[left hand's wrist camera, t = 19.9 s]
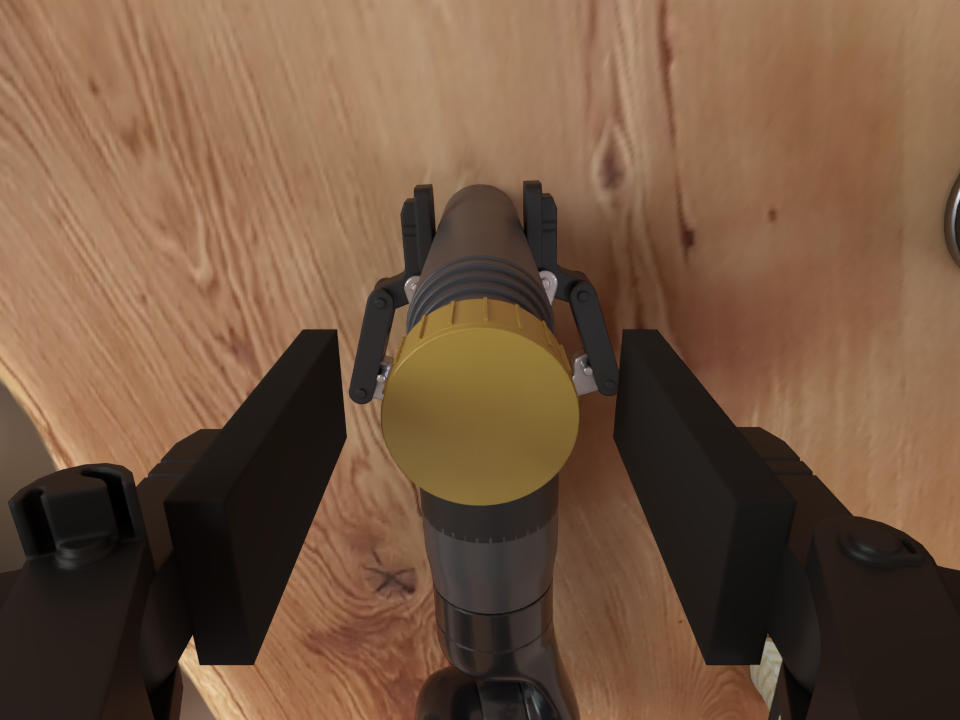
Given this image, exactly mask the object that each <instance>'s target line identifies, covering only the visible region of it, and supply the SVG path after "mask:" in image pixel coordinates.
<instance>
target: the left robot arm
mask: <svg viewBox="0 0 960 720" xmlns="http://www.w3.org/2000/svg"><path fill="white" fill-rule="evenodd" d="M346 438H347V434H346V423H345V412H344V401H343V390H342V379H341V368H340V357H339V346H338V335H337V329H303V330H302V331H301V333H300V334H299V335H298V336H297V338H296V339H295V340H294V341H293V342H292V344H291V345H290V346H289V347H288V349H287V350H286V351H285V352H284V353H283V355H282V356H281V357H280V358H279V360H278V361H277V362H276V363H275V365H274V366H273V367H272V368H271V369H270V371H269V372H268V373H267V374H266V376H265V377H264V378H263V379H262V380H261V382H260V383H259V384H258V385H257V387H256V388H255V389H254V390H253V392H252V393H251V394H250V395H249V396H248V398H247V399H246V400H245V401H244V403H243V404H242V405H241V406H240V407H239V409H238V410H237V411H236V412H235V414H234V415H233V416H232V417H231V419H230V420H229V421H228V422H227V423H226V425H225V426H224V427H223V428H222V429H200V430H198V431H197V432H195V433H193V434H191V435H190V436H188V437H186V438H185V439H183V440H181V441H179V442H178V443H176V444H175V445H174V446H173V447H172V448H171V449H170V451H169V452H168V453H167V454H166V455H165V456H164V457H163V458H162V459H161V463H158V464H157V465H156V466H155V467H154V468H153V469H152V470H151V471H150V472H149V473H148V478H144V479H143V480H142V481H141V482H140V483H139V484H138V485H137V487H136V486H135V482H134V478H133V474H132V472H131V471H129V470H128V469H127V468H125V467H124V466H121V465H115V464H109V463H100V464H85V465H81V466H76V467H72V468H67V469H63V470H60V471H57V472H55V473H52V474H50V475H47V476H45V477H42V478H39V479H37V480H36V481H34V482H32V483H31V484H29V485H27V486H26V487H24V488H22V489H20V490H19V491H18V492H17V493H16V494H15V495H14V496H13V497H12V498H11V499H10V500H9V501H8V505H9V508H10V511H11V514H12V516H13V520H14V522H15V525H16V528H17V531H18V534H19V537H20V540H21V543H22V546H23V549H24V552H25V555H26V558H27V560H26V562H25V564H24V566H23V568H22V569H19V570H15V571H10V572H5V573H0V720H179V717H180V710H181V702H182V694H183V682H182V675H181V671H180V667H179V663H178V661H179V659H180V657H181V655H182V653H183V652H184V650H185V648H186V646H187V644H188V642H189V641H190V639H191V637H192V635H193V638H194V642H195V646H196V651H197V655H198V660H199V664H200V665H254V663H255V660H256V658H257V656H258V653H259V651H260V648H261V646H262V643H263V641H264V638H265V636H266V634H267V631H268V629H269V626H270V624H271V621H272V619H273V616H274V614H275V612H276V609H277V607H278V604H279V602H280V599H281V597H282V594H283V592H284V590H285V587H286V585H287V582H288V580H289V577H290V575H291V572H292V570H293V568H294V565H295V563H296V560H297V558H298V555H299V553H300V551H301V548H302V546H303V543H304V541H305V538H306V536H307V533H308V531H309V529H310V526H311V524H312V521H313V519H314V516H315V514H316V511H317V509H318V507H319V504H320V502H321V499H322V497H323V494H324V492H325V489H326V487H327V485H328V482H329V480H330V477H331V475H332V472H333V470H334V467H335V465H336V463H337V460H338V458H339V455H340V453H341V450H342V448H343V446H344V443H345V441H346ZM613 438H614V441H615V443H616V446H617V448H618V450H619V453H620V455H621V458H622V460H623V463H624V465H625V467H626V470H627V472H628V475H629V477H630V480H631V482H632V485H633V487H634V489H635V492H636V494H637V497H638V499H639V502H640V504H641V507H642V509H643V511H644V514H645V516H646V519H647V521H648V524H649V526H650V529H651V531H652V533H653V536H654V538H655V541H656V543H657V546H658V548H659V551H660V553H661V555H662V558H663V560H664V563H665V565H666V568H667V570H668V572H669V575H670V577H671V580H672V582H673V585H674V587H675V590H676V592H677V594H678V597H679V599H680V602H681V604H682V607H683V609H684V612H685V614H686V616H687V619H688V621H689V624H690V626H691V629H692V631H693V634H694V636H695V638H696V641H697V643H698V646H699V648H700V651H701V653H702V656H703V658H704V660H705V663H706V665H760V664H761V660H762V655H763V651H764V646H765V642H766V638H767V633H768V634H769V636H770V637H771V639H772V641H773V643H774V645H775V646H776V648H777V650H778V652H779V654H780V655H781V657H782V663H781V667H780V671H779V675H778V679H777V683H776V687H775V691H774V696H773V700H772V704H771V708H770V712H769V718H768V720H778V719H779V716H781V720H960V571H959V570H954V569H949V568H944V567H941V566H937V564H936V563H935V561H934V559H933V557H932V556H931V555H930V554H929V552H928V551H927V550H926V549H925V548H924V546H923V545H922V544H920V543H919V542H917V541H916V540H915V539H913V538H912V537H910V536H909V535H907V534H906V533H904V532H902V531H900V530H898V529H896V528H893V527H891V526H889V525H887V524H885V523H882V522H878V521H874V520H871V519H867V518H863V517H856V516H853V515H852V514H851V513H850V512H849V511H848V510H847V508H846V507H845V506H844V505H843V504H842V503H841V502H840V501H839V500H838V499H837V498H836V497H835V496H834V494H833V493H832V492H831V491H830V490H829V489H828V488H827V487H826V486H825V485H824V484H823V483H822V481H821V480H820V479H819V478H818V477H817V476H816V475H813V474H812V473H813V472H812V471H811V470H810V468H809V467H808V466H807V465H806V464H805V463H804V462H803V461H800V458H799V457H798V456H797V454H796V453H795V452H794V451H793V450H792V449H791V448H790V447H789V446H788V445H787V444H786V443H785V441H783V440H781V439H779V438H778V437H776V436H774V435H773V434H771V433H769V432H767V431H766V430H764V429H762V428H760V427H736V426H735V425H734V423H733V422H732V421H731V420H730V419H729V417H728V416H727V415H726V414H725V412H724V411H723V410H722V409H721V407H720V406H719V405H718V404H717V403H716V401H715V400H714V399H713V398H712V396H711V395H710V394H709V393H708V392H707V390H706V389H705V388H704V387H703V385H702V384H701V383H700V382H699V380H698V379H697V378H696V377H695V376H694V374H693V373H692V372H691V371H690V369H689V368H688V367H687V366H686V365H685V363H684V362H683V361H682V360H681V358H680V357H679V356H678V355H677V353H676V352H675V351H674V350H673V349H672V347H671V346H670V345H669V344H668V342H667V341H666V340H665V339H664V338H663V336H662V335H661V334H660V333H659V331H658V330H657V329H623V335H622V346H621V357H620V368H619V379H618V390H617V401H616V412H615V423H614V434H613Z"/></svg>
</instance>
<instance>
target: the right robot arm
mask: <svg viewBox="0 0 960 720" xmlns="http://www.w3.org/2000/svg"><path fill="white" fill-rule="evenodd" d="M523 219H524V234H525V236H526V239H527V242H528V245H529V247H530V250H531V253H532V255H533V258H534V261H535V264H536V266H537V269H538V272H539V274H540V277H541V280H542V283H543V285H544V288H545V291H546V293H547V296H548V299H549V302H550V304H551V305H552V302H553V298H557V299H560V300H563V301H566V302H569V304H570V307H571V310H572V314H573V317H574V320H575V323H576V327H577V330H578V333H579V336H580V340H581V343H582V346H583V348H581V349H579V350H577V351H575V352H574V354H573V355H572V358H571V362H572V367H571V370H572V373H571V376H572V379H573V382H574V384H575V387H576V390H577V393H578V396H580V395H583V394H586V393H590V392H593V391H596V390H599V392H600V393H601V394H603V395H605V396H612V395H615V394H617V390H618V379H619V370H618V367H617V363H616V360H615V356H614V353H613V349H612V346H611V343H610V339H609V336H608V332H607V329H606V325H605V322H604V318H603V315H602V311H601V308H600V305H599V301H598V298H597V294H596V291H595V289H594V287H593V286H592V284H591V283H590V281H589V280H588V278H587V277H586V275H585V274H584V273H582V272H580V271H571V270H568V269H565V268H562V267H560V266H559V265H558V264H557V207H556V205H555V202H554V200H553V197H552V196H551V195H550V194H549V193H542V186H541V183H540V182H539V180H536V181H523ZM401 225H402V235H403V248H404V259H405V270H404V271H403V272H402V273H401V274H398V275H396V276H394V277H391V278H382V279H380V280H379V281H378V282H377V284H376V285H375V288H374V290H373V291H372V292H371V294H370V295H369V297H368V300H367V305H366V310H365V315H364V320H363V325H362V329H361V334H360V339H359V344H358V349H357V354H356V359H355V364H354V369H353V374H352V379H351V384H350V388H349V396H350V398H351V399H352V400H353V401H354V402H355V403H358V404H366V403H368V402H370V401H371V400H372V398H375V399H380V400H383V396H384V394H382V390H383V387H384V384H385V382H386V379H387V376H388V373H389V370H390V367H391V365H392V364H393V363H394V359H393V358H392V357H390V356H386V355H385V354H386V349H387V345H388V340H389V336H390V331H391V327H392V322H393V318H394V313H395V309H396V308H399V307H401V306H404V305H406V304H409V303H411V300H412V297H413V295H414V292H415V289H416V286H417V284H418V281H419V278H420V276H421V273H422V270H423V267H424V265H425V262H426V259H427V256H428V254H429V251H430V248H431V245H432V243H433V240H434V237H435V234H436V228H435V213H434V198H433V187H432V184H429V185H417V186H416V187H415V188H414V198H409V199H407V200H406V201H405V202H404V205H403V208H402V211H401ZM944 233H945V240H946V244H947V247H948V250H949V252H950V254H951V256H952V258H953V260H954V261H955V262H956V264H957V265H958V266H959V267H960V174H959V176H958V178H957V180H956V182H955V184H954V186H953V188H952V190H951V193H950V196H949V199H948V202H947V206H946V211H945V218H944ZM420 494H421V506H422V517H423V528H424V539H425V547H426V552H427V557H428V560H429V564H430V568H431V572H432V578H433V588H434V600H435V615H436V626H437V634H438V639H439V643H440V647H441V649H442V652H443V654H444V656H445V657H446V659H447V660H448V661H449V663H450V664H451V665H452V666H449V667H445V668H442V669H440V670H438V671H436V672H434V673H433V674H432V675H431V676H430V677H429V678H428V679H427V680H426V681H425V683H424V685H423V687H422V688H421V691H420V693H419V696H418V699H417V703H416V709H415V720H581V719H580V711H579V706H578V703H577V699H576V696H575V693H574V690H573V687H572V685H571V682H570V680H569V677H568V675H567V672H566V670H565V667H564V665H563V662H562V660H561V657H560V653H559V649H558V646H557V642H556V636H555V631H554V624H553V567H554V561H555V556H556V550H557V540H558V473H557V474H556V475H555V476H554V477H553V478H552V479H551V480H550V481H548V482H547V483H546V484H545V485H543V486H542V487H541V488H539V489H537V490H536V491H534V492H532V493H531V494H528V495H526V496H524V497H522V498H519V499H516V500H513V501H510V502H506V503H501V504H496V505H484V506H482V505H466V504H459V503H455V502H451V501H447V500H445V499H442V498H439V497H437V496H435V495H433V494H431V493H429V492H427V491H425V490H424V489H422V488H421V487H420Z"/></svg>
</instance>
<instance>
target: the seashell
mask: <svg viewBox="0 0 960 720" xmlns="http://www.w3.org/2000/svg"><path fill="white" fill-rule="evenodd" d="M781 663H782V657H781V655H780V654H779V652H778V650H777V648H776V646H775V645H774V643H773V641H772V639H771V638H770V637H767V638H766V642H765V646H764V651H763V655H762V660H761V664H760V665H750V674H751V679H752V681H753V684H754V686H755V687H756V689H757V690H758V692H759V693H760V694H761V695H762V697H763V699H764V701H765V703H766V705H767V706H768V710H769V712H770V708H771V704H772V700H773V696H774V691H775V687H776V683H777V679H778V675H779V671H780V667H781ZM778 720H781V716H779V719H778Z"/></svg>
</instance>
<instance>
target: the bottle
mask: <svg viewBox="0 0 960 720" xmlns="http://www.w3.org/2000/svg"><path fill="white" fill-rule="evenodd" d="M483 297H487V299H492V300H498V301H503V302H506V303H510V304H513V305H515V304H518V305H519V307H520V308H522V309H524V310H526V311H527V312H529V313H531V314H532V315H534V316H535V317H536V318H538V319H539V320H540V321H541V322H542V321H543V320H544V321H545V322H546V325H547V328H548V329H549V330H550V331H551V332H552V334H553V335H554V319H553V312H552V308H551V304H550V302H549V299H548V296H547V293H546V291H545V288H544V285H543V283H542V280H541V277H540V274H539V272H538V269H537V266H536V264H535V261H534V258H533V255H532V253H531V250H530V247H529V245H528V242H527V239H526V236H525V234H524V231H523V228H522V226H521V223H520V220H519V217H518V215H517V212H516V209H515V207H514V205H513V203H512V201H511V200H510V199H509V198H508V196H507V195H506V194H504V193H503V192H502V191H500V190H499V189H497V188H494V187H492V186H488V185H472V186H468V187H466V188H463V189H462V190H460V191H458V192H457V193H456V194H455V195H454V196H453V197H452V198H451V199H450V200H449V202H448V203H447V205H446V207H445V210H444V212H443V215H442V218H441V221H440V223H439V226H438V229H437V232H436V234H435V237H434V240H433V243H432V245H431V248H430V251H429V254H428V256H427V259H426V262H425V265H424V267H423V270H422V273H421V276H420V278H419V281H418V284H417V286H416V289H415V292H414V295H413V297H412V300H411V303H410V306H409V310H408V315H407V335H408V333H409V332H410V331H411V330H412V329H413V327H414V326H415V325H416V324H417V323H419V322H420V321H421V320H422V316H423V315H426V316H427V315H429V314H430V313H431V312H433V311H435V310H437V309H439V308H441V307H443V306H446V305H448V304H451V301H455V302H458V301H463V300H469V299H483Z"/></svg>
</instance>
